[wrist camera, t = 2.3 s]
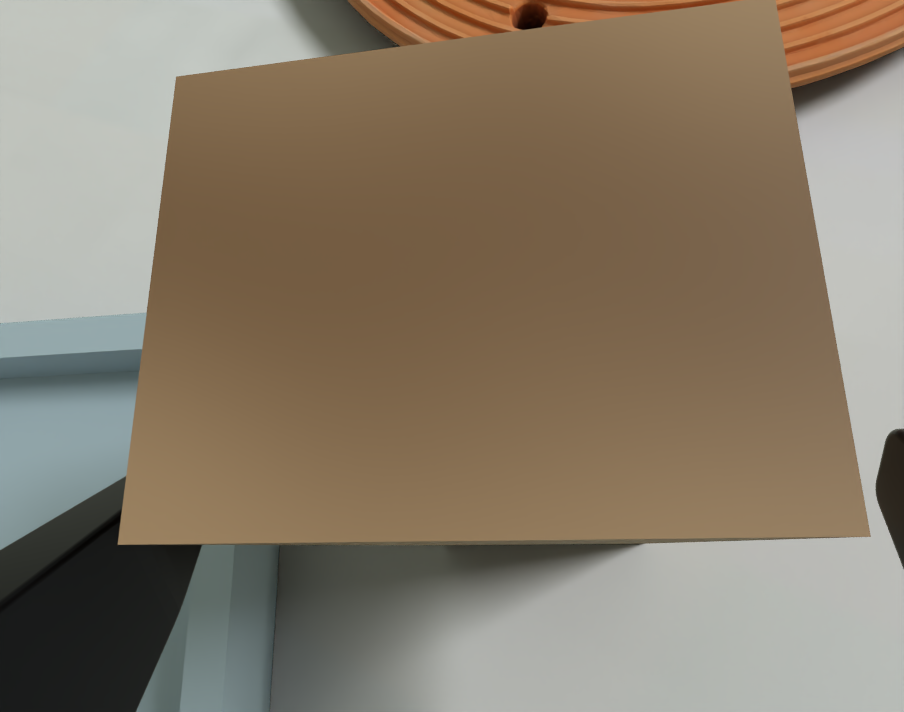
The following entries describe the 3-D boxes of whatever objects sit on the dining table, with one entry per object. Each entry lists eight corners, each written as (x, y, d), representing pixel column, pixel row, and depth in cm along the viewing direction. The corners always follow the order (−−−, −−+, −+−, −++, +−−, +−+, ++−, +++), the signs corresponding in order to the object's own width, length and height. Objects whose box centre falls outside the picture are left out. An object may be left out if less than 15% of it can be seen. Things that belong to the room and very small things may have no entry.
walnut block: (644, 543, 16) (870, 537, 4) (444, 545, 17) (116, 544, 5) (631, 384, 17) (775, -4, 5) (443, 393, 18) (176, 76, 6)
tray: (258, 901, 16) (201, 964, 13) (-230, 861, 18) (-353, 909, 15) (292, 334, 19) (253, 305, 17) (-113, 360, 22) (-197, 337, 19)
